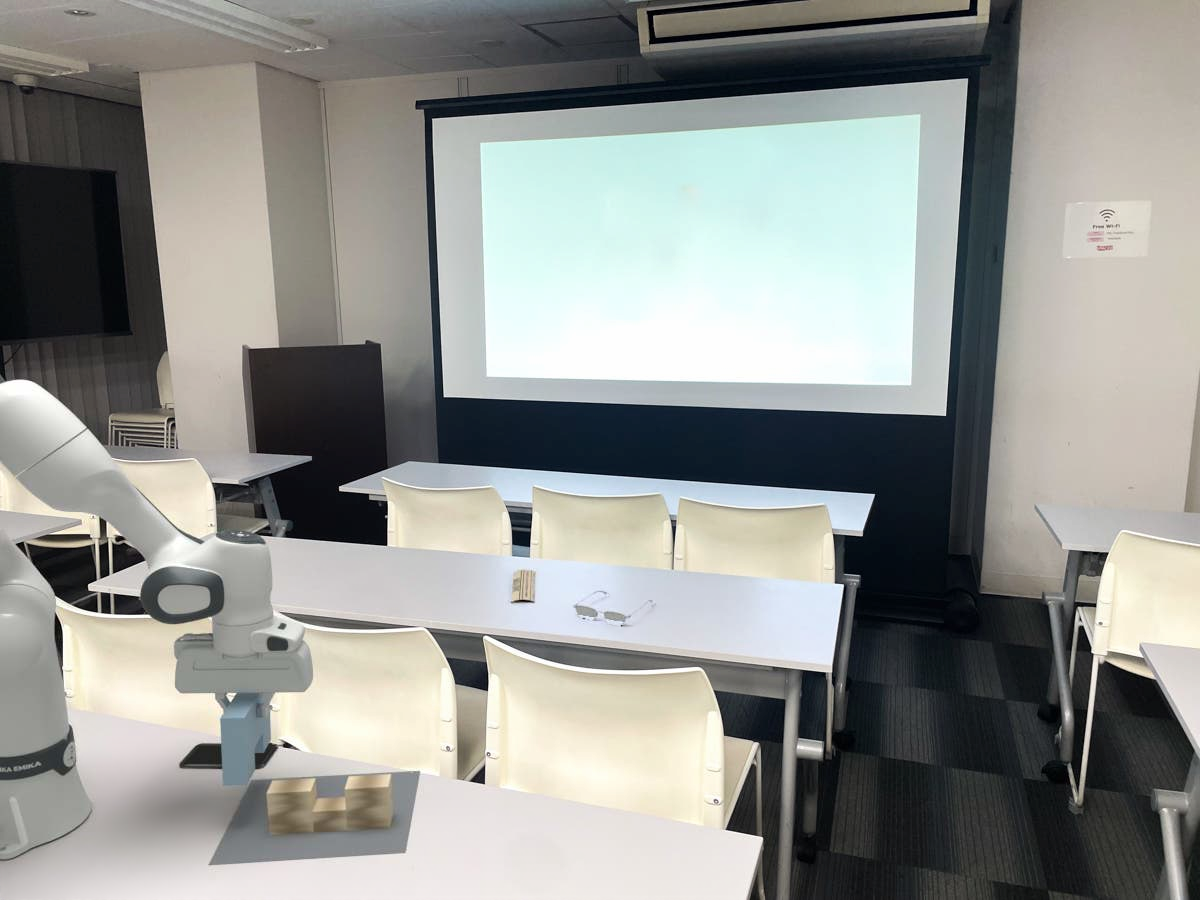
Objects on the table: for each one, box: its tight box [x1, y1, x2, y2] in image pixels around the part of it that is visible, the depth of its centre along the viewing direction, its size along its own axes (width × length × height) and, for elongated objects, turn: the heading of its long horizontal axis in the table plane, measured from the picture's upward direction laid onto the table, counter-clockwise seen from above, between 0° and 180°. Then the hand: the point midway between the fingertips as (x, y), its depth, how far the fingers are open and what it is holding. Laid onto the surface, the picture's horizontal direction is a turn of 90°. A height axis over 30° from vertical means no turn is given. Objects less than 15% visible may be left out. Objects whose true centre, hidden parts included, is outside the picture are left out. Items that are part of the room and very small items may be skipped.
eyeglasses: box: [572, 590, 653, 622], centre depth 225 cm, size 15×18×4 cm
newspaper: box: [510, 569, 536, 604], centre depth 242 cm, size 24×7×2 cm, turn 4°
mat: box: [208, 770, 421, 866], centre depth 140 cm, size 28×22×1 cm
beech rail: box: [266, 774, 393, 835], centre depth 137 cm, size 18×4×7 cm, turn 96°
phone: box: [178, 742, 279, 770], centre depth 157 cm, size 8×1×15 cm
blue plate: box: [219, 693, 272, 787], centre depth 140 cm, size 4×14×11 cm, turn 6°
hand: (246, 716), depth 140 cm, fingers closed on blue plate, 3 cm apart
